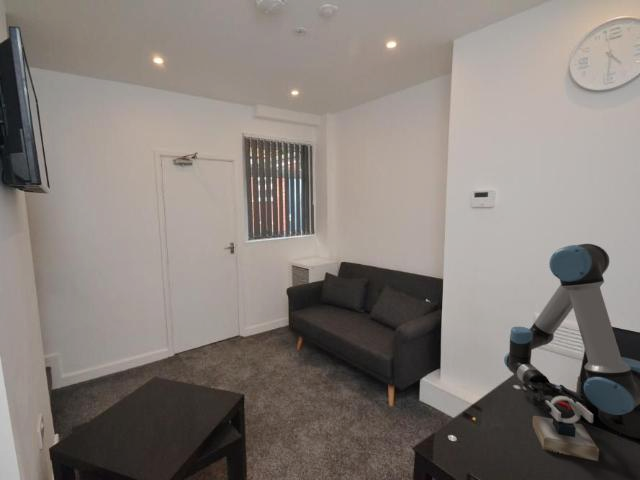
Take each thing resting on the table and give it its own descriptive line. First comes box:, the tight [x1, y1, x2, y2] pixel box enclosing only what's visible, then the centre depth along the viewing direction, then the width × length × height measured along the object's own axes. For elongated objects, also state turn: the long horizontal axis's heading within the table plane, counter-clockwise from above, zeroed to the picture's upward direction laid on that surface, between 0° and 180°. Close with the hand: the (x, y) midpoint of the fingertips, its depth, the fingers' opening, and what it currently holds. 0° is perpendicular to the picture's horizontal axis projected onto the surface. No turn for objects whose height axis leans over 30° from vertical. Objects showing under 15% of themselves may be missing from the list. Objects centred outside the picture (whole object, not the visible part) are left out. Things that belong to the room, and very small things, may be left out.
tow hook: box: [556, 376, 589, 411], centre depth 124 cm, size 8×13×9 cm
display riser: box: [532, 415, 600, 462], centre depth 104 cm, size 14×12×4 cm
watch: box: [549, 396, 582, 437], centre depth 104 cm, size 6×8×11 cm
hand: (575, 417), depth 99 cm, fingers open, 9 cm apart
